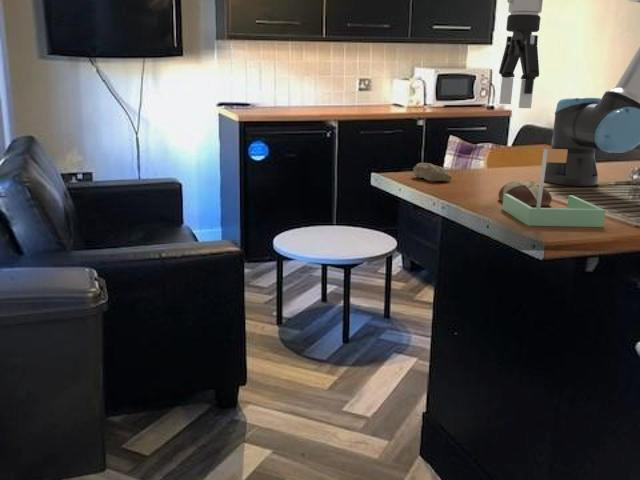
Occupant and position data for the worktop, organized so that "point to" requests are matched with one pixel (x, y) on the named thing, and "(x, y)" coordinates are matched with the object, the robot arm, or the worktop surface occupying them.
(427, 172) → the rock
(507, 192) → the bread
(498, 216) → the worktop surface
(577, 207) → the mint green tray
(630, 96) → the robot arm
